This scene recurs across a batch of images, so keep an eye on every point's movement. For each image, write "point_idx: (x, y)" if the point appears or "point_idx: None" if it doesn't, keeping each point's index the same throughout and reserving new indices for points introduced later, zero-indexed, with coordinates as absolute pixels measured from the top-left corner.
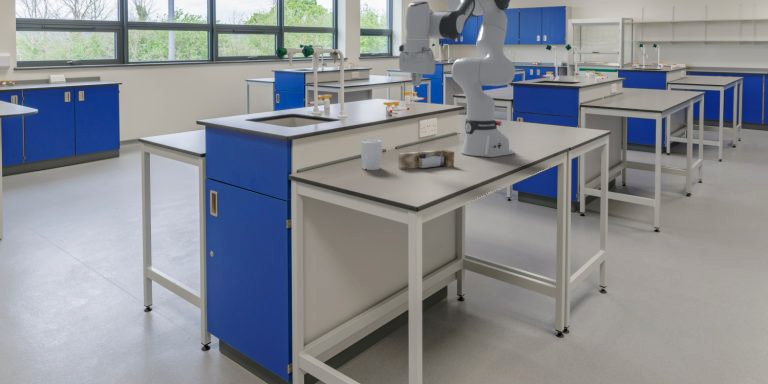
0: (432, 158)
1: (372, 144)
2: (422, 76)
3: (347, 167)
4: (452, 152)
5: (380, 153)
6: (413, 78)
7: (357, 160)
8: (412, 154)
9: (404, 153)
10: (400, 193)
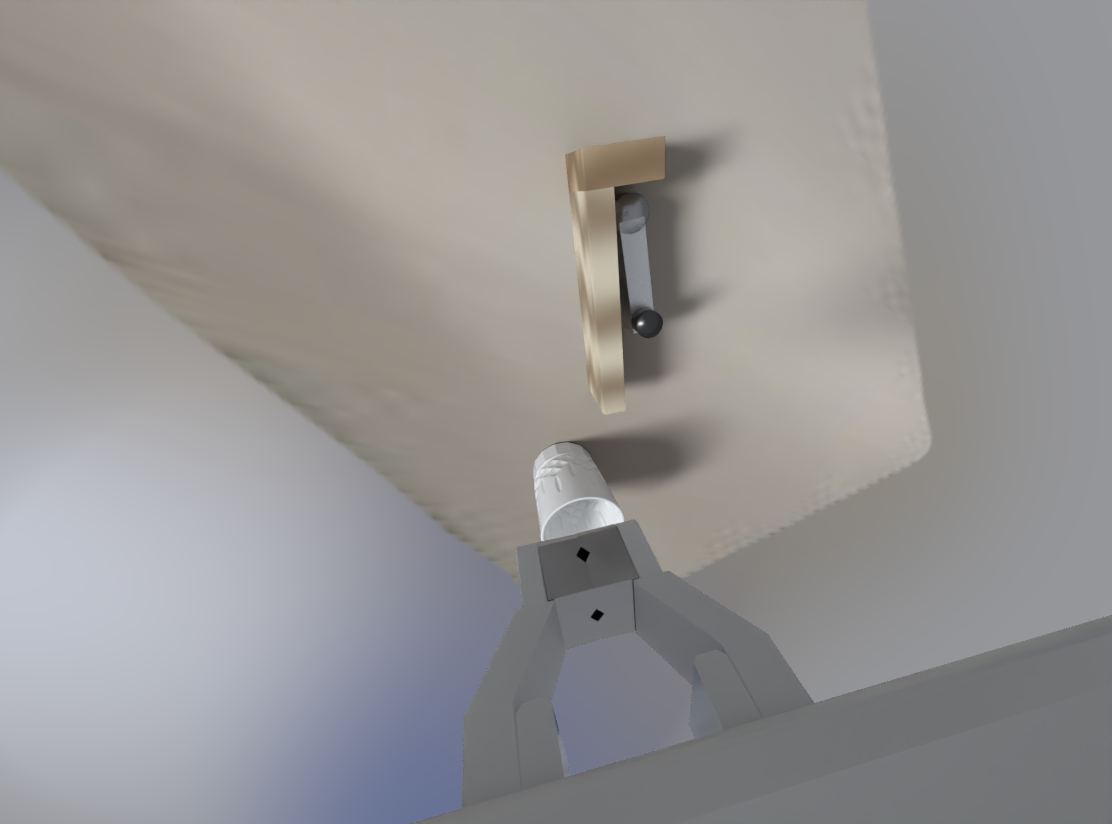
0: (648, 272)
1: None
2: (767, 634)
3: (529, 522)
4: (663, 150)
5: (601, 478)
6: (550, 685)
7: (420, 484)
8: (621, 361)
9: (614, 394)
10: (841, 458)
